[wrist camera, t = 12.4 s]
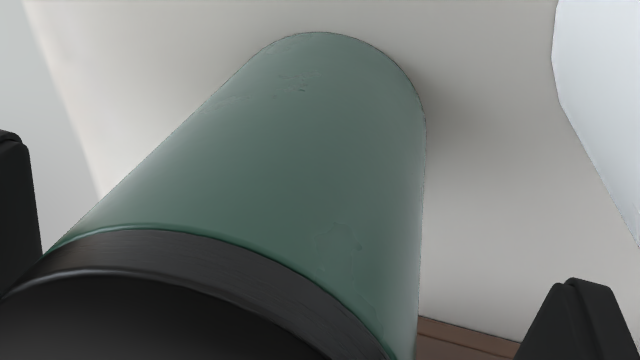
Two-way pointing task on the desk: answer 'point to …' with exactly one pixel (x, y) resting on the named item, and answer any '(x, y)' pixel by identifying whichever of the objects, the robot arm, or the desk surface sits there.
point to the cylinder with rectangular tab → (603, 91)
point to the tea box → (459, 343)
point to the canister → (250, 226)
